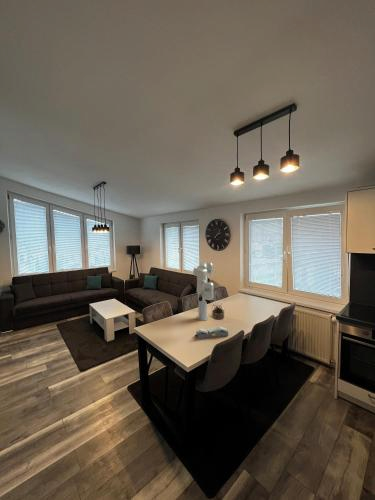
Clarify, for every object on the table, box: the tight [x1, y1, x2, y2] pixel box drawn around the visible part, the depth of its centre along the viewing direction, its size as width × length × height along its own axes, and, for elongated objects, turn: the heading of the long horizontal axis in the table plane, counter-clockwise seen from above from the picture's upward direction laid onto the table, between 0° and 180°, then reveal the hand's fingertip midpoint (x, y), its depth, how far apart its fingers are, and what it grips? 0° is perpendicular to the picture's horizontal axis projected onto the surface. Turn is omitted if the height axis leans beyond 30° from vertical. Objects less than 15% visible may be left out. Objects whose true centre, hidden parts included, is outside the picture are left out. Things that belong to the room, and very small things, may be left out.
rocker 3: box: [216, 326, 228, 331], centre depth 192 cm, size 4×8×2 cm, turn 104°
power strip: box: [194, 328, 229, 340], centre depth 191 cm, size 7×31×5 cm, turn 104°
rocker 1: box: [198, 327, 208, 333], centre depth 188 cm, size 4×8×2 cm, turn 105°
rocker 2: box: [207, 326, 218, 333], centre depth 190 cm, size 4×8×2 cm, turn 104°
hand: (200, 300), depth 203 cm, fingers closed
